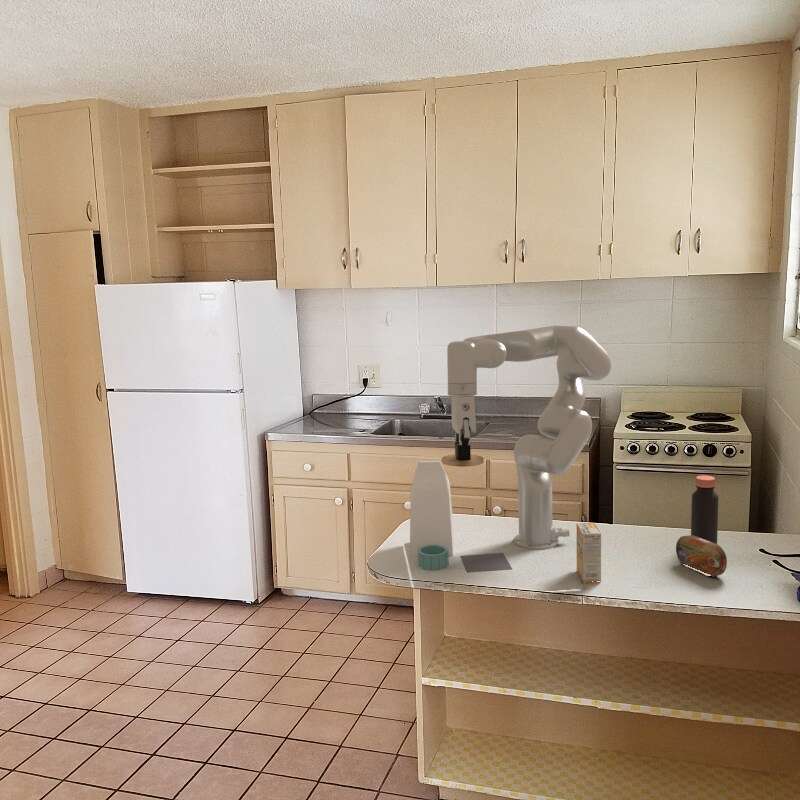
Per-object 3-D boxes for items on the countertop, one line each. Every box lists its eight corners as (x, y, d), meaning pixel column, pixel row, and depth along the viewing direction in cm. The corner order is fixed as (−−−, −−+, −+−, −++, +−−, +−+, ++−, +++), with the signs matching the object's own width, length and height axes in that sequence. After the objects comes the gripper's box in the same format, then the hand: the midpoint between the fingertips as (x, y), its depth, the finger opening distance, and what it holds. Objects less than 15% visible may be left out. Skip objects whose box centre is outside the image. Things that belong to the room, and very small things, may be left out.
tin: (674, 562, 200) (675, 531, 199) (683, 560, 201) (684, 529, 200) (719, 582, 186) (720, 549, 185) (728, 580, 188) (729, 547, 186)
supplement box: (575, 570, 197) (575, 522, 195) (594, 570, 197) (594, 521, 195) (582, 583, 189) (582, 533, 187) (601, 583, 189) (601, 532, 187)
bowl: (446, 559, 208) (445, 544, 208) (450, 570, 200) (449, 554, 200) (417, 561, 208) (416, 545, 207) (420, 572, 200) (419, 556, 199)
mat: (503, 554, 210) (503, 552, 210) (512, 571, 199) (512, 569, 198) (460, 557, 210) (460, 555, 209) (467, 574, 198) (467, 572, 198)
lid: (478, 456, 205) (478, 439, 204) (487, 465, 194) (487, 447, 194) (438, 457, 204) (438, 441, 203) (445, 467, 193) (445, 449, 192)
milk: (454, 543, 221) (451, 456, 217) (453, 557, 210) (450, 466, 206) (413, 543, 222) (409, 456, 218) (409, 557, 211) (406, 467, 207)
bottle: (722, 550, 207) (724, 479, 203) (700, 553, 205) (702, 482, 202) (706, 542, 213) (708, 473, 210) (685, 545, 212) (686, 475, 208)
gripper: (483, 393, 188) (483, 465, 191) (470, 384, 205) (470, 451, 208) (453, 394, 188) (454, 466, 190) (442, 385, 204) (443, 452, 207)
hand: (462, 457), depth 199 cm, fingers closed on lid, 3 cm apart
